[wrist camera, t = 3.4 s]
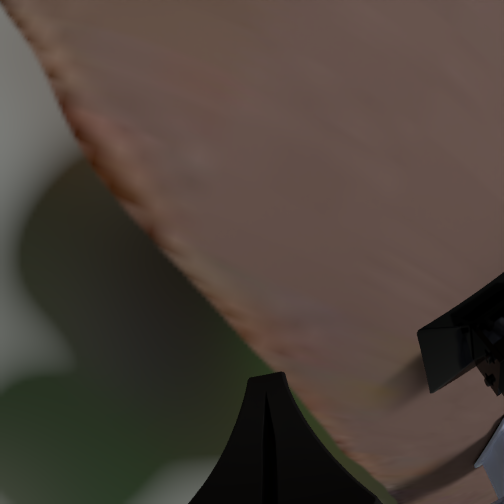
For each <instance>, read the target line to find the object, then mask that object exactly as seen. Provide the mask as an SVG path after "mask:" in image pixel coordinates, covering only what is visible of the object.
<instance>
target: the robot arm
mask: <svg viewBox="0 0 504 504" xmlns="http://www.w3.org/2000/svg"><path fill="white" fill-rule="evenodd" d="M481 465H483V466H484V468H485V471H486V473H487V475H488V477H489V479H490V481H491V483H492V486H493V488H494V490H495V492H496V494H497V497H498V500H497V501H495V502H493V503H491V504H504V418H503V420H502V421H501V423H500V425H499V427H498V428H497V430H496V432H495V433H494V435H493V437H492V438H491V440H490V441H489V443H488V445H487V446H486V448H485V449H484V451H483V452H482V454H481V455H480V457H479V458H478V460H477V461H476V463H475V464H474V467H475V468H477V467H479V466H481ZM188 504H382V503H381V501H380V500H379V499H378V498H377V496H376V495H374V494H373V493H372V492H371V491H369V490H368V489H367V488H366V487H364V486H363V485H362V484H361V483H360V482H358V481H357V480H356V479H355V478H354V477H353V476H352V475H351V474H350V473H349V472H348V471H347V470H346V469H345V468H344V467H343V466H342V465H341V464H340V463H339V462H338V461H337V460H336V459H335V458H334V457H333V456H332V454H331V453H330V452H329V451H328V450H327V449H326V447H325V446H324V445H323V444H322V443H321V441H320V440H319V439H318V437H317V436H316V435H315V433H314V432H313V430H312V429H311V427H310V426H309V425H308V423H307V421H306V420H305V418H304V417H303V415H302V413H301V411H300V410H299V408H298V406H297V404H296V402H295V400H294V398H293V396H292V394H291V392H290V389H289V387H288V383H287V379H286V375H285V373H284V372H282V371H281V372H277V373H272V374H267V375H262V376H256V377H251V378H249V379H248V383H247V387H246V392H245V396H244V400H243V403H242V406H241V410H240V412H239V415H238V419H237V421H236V424H235V426H234V429H233V431H232V434H231V436H230V438H229V441H228V443H227V445H226V447H225V449H224V451H223V453H222V455H221V457H220V459H219V461H218V462H217V464H216V466H215V467H214V469H213V471H212V472H211V474H210V475H209V477H208V479H207V480H206V481H205V483H204V484H203V486H202V487H201V488H200V489H199V491H198V492H197V493H196V495H195V496H194V497H193V498H192V500H191V501H190V502H189V503H188Z"/></svg>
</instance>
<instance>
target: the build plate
mask: <svg viewBox="0 0 504 504" xmlns="http://www.w3.org/2000/svg"><path fill="white" fill-rule="evenodd" d="M417 337H418V341H419V345H420V349H421V353H422V357H423V362H424V366H425V370H426V375H427V380H428V385H429V390H430V393H434V392H436V391H437V390H439V389H441V388H442V387H444V386H446V385H447V384H449V383H451V382H452V381H454V380H455V379H457V378H459V377H460V376H462V375H463V374H465V373H466V372H468V371H469V370H471V369H472V368H474V367H475V366H477V368H478V369H479V370H480V372H481V373H482V375H483V376H484V378H485V379H484V381H485V384H486V385H487V387H489V386H491V388H492V389H493V391H494V392H495V394H496V395H497V396H498V395H500V394H501V393H502V394H503V396H504V272H503V273H502V274H501V275H499V276H498V277H497V278H495V279H494V280H493V281H491V282H490V283H489V284H487V285H486V286H485V287H483V288H482V289H480V290H479V291H478V292H476V293H475V294H473V295H472V296H471V297H469V298H468V299H466V300H465V301H463V302H462V303H460V304H459V305H457V306H456V307H454V308H453V309H451V310H450V311H448V312H447V313H445V314H444V315H442V316H440V317H439V318H437V319H436V320H434V321H432V322H431V323H429V324H428V325H426V326H424V327H423V328H421V329H419V330H418V332H417Z"/></svg>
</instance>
